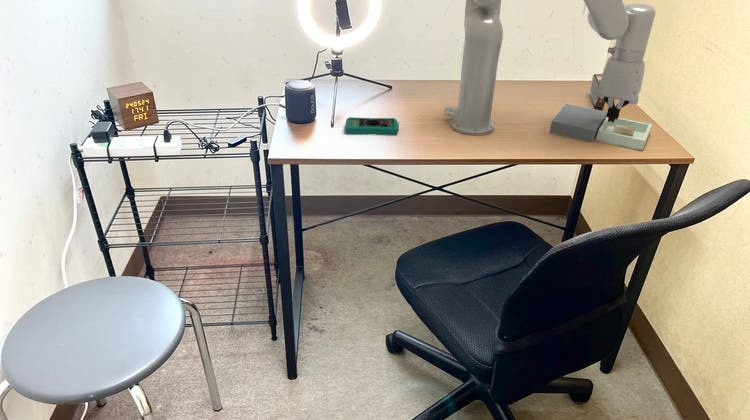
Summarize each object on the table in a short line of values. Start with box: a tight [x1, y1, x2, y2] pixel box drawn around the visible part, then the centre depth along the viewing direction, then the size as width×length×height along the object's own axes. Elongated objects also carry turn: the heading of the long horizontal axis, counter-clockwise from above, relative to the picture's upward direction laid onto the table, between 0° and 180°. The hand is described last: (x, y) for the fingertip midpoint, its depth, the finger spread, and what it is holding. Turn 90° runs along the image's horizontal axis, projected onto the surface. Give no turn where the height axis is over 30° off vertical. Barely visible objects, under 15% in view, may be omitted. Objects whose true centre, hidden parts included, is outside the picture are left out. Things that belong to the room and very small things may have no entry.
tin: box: [590, 73, 606, 109], centre depth 175 cm, size 15×3×8 cm, turn 168°
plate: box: [548, 103, 608, 143], centre depth 159 cm, size 12×16×4 cm
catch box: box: [595, 117, 653, 152], centre depth 154 cm, size 12×13×3 cm
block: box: [613, 125, 635, 137], centre depth 154 cm, size 5×5×2 cm
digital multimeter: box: [345, 116, 399, 136], centre depth 156 cm, size 7×15×3 cm, turn 90°
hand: (611, 120), depth 154 cm, fingers closed
